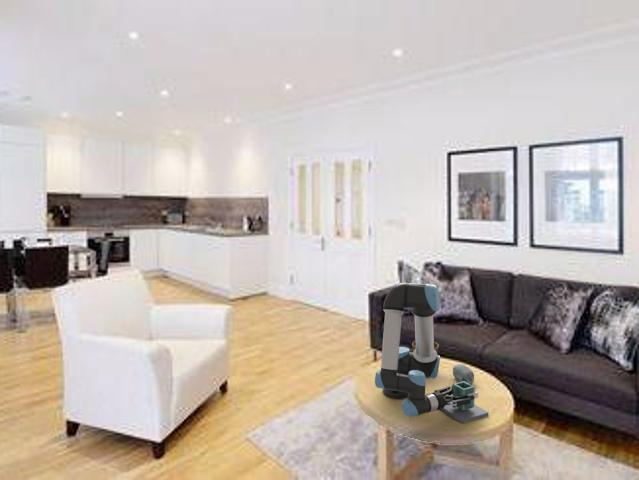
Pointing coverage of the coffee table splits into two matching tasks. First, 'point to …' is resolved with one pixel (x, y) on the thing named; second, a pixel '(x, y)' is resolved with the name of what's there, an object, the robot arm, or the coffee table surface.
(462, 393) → the sleeve
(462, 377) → the grey rounded piece
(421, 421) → the coffee table surface
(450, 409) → the hub plate
